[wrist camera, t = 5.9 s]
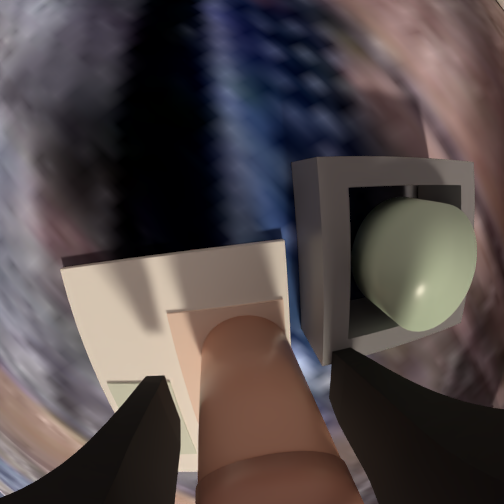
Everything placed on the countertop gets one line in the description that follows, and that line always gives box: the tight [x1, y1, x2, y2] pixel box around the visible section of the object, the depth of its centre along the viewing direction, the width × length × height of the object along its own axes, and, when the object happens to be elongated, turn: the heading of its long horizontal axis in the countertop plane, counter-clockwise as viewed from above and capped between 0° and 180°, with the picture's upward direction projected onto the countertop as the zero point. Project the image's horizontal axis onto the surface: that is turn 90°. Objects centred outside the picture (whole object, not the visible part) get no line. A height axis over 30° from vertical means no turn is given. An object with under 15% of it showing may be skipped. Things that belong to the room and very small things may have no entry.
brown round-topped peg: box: [196, 315, 364, 504], centre depth 7 cm, size 3×3×7 cm
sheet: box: [60, 239, 291, 472], centre depth 11 cm, size 12×8×1 cm, turn 5°
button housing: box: [291, 156, 475, 366], centre depth 9 cm, size 6×6×2 cm
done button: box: [351, 197, 477, 332], centre depth 7 cm, size 4×4×2 cm
